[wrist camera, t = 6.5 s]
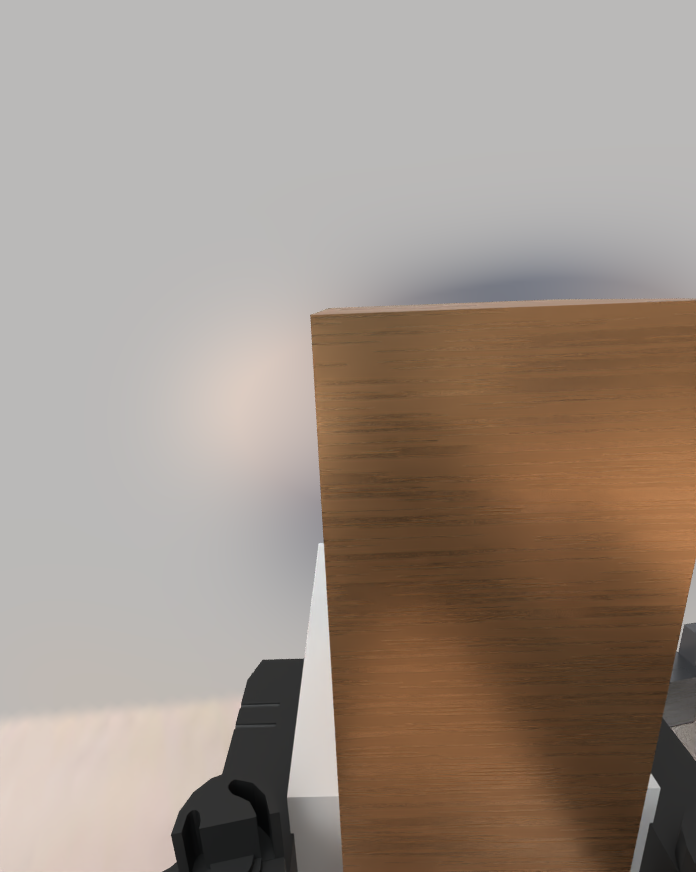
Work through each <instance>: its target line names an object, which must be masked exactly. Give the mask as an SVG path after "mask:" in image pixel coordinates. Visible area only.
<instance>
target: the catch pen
mask: <svg viewBox="0 0 696 872" xmlns="http://www.w3.org/2000/svg"><path fill="white" fill-rule="evenodd" d="M678 653H679V654H680V655H682V656H683V657H684V658H685V659H686V660H688V661H689V662H690V663H691V664H692V665H693V666H695V667H696V623H691V624H686V625H684V629H683V634H682V638H681V643H680V648H679V652H678Z"/></svg>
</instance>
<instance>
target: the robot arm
mask: <svg viewBox="0 0 696 872" xmlns="http://www.w3.org/2000/svg"><path fill="white" fill-rule="evenodd" d="M171 837H172V841H173V846H174V851H175V856H176V860H177V862H176V863H175V864H174V865H173V866H171V867H170V868H168V869H167V870H165V871H163V872H343V861H342V844H341V827H340V810H339V793H338V776H337V759H336V742H335V725H334V708H333V691H332V674H331V657H330V640H329V623H328V606H327V589H326V572H325V555H324V543H319V545H318V553H317V561H316V569H315V577H314V585H313V593H312V601H311V609H310V618H309V625H308V633H307V641H306V649H305V657H304V659H276V660H262V662H261V663H260V664H259V665H258V667H257V668H256V669H255V671H254V673H252V675H251V676H250V678H249V679H248V680H247V684H246V688H245V691H244V695H243V699H242V702H241V709H240V710H239V714H238V717H237V721H236V728H235V729H234V732H233V736H232V740H231V744H230V747H229V751H228V755H227V758H226V762H225V766H224V770H223V773H222V775H219V776H217V777H214V778H211V779H210V780H209V781H207V782H206V783H205V784H204V785H202V786H201V787H200V788H198V789H197V790H196V791H195V792H193V794H192V795H191V796H190V798H189V799H188V800H187V802H186V803H185V805H184V806H183V807H182V809H181V810H180V811H179V814H178V817H177V819H176V822H175V825H174V828H173V831H172V833H171ZM630 872H696V761H695V760H694V759H693V757H692V756H691V755H690V753H689V752H688V751H687V749H686V748H685V747H684V745H683V744H682V743H681V741H680V740H679V739H678V737H677V736H676V735H675V733H674V732H673V731H672V729H671V728H670V727H669V725H668V724H667V723H666V721H665V720H664V719H663V717H662V722H661V726H660V731H659V736H658V741H657V746H656V750H655V755H654V760H653V765H652V769H651V774H650V779H649V784H648V789H647V793H646V798H645V803H644V808H643V812H642V817H641V822H640V827H639V832H638V836H637V841H636V846H635V851H634V855H633V860H632V865H631V870H630Z"/></svg>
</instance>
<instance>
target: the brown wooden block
mask: <svg viewBox="0 0 696 872" xmlns="http://www.w3.org/2000/svg"><path fill="white" fill-rule="evenodd" d="M310 316H311V334H312V351H313V367H314V385H315V402H316V419H317V436H318V451H319V452H318V453H319V469H320V487H321V504H322V521H323V537H324V555H325V572H326V589H327V606H328V623H329V640H330V657H331V674H332V691H333V708H334V725H335V742H336V759H337V776H338V793H339V810H340V827H341V844H342V861H343V872H630V870H631V865H632V860H633V855H634V851H635V846H636V841H637V836H638V832H639V827H640V822H641V817H642V812H643V808H644V803H645V798H646V793H647V789H648V784H649V779H650V774H651V769H652V765H653V760H654V755H655V750H656V746H657V741H658V736H659V731H660V726H661V722H662V717H663V712H664V707H665V703H666V698H667V693H668V688H669V683H670V679H671V674H672V669H673V664H674V660H675V655H676V650H677V645H678V640H679V636H680V631H681V626H682V621H683V617H684V611H685V607H686V602H687V597H688V592H689V588H690V583H691V578H692V574H693V569H694V564H695V559H696V299H571V300H570V299H567V300H566V299H564V300H562V299H561V300H534V301H533V300H532V301H505V302H482V303H481V302H480V303H453V304H427V305H400V306H374V307H351V308H350V307H348V308H328V309H325V310H323V311H320V312H317V313H315V314H312V315H310Z"/></svg>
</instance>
